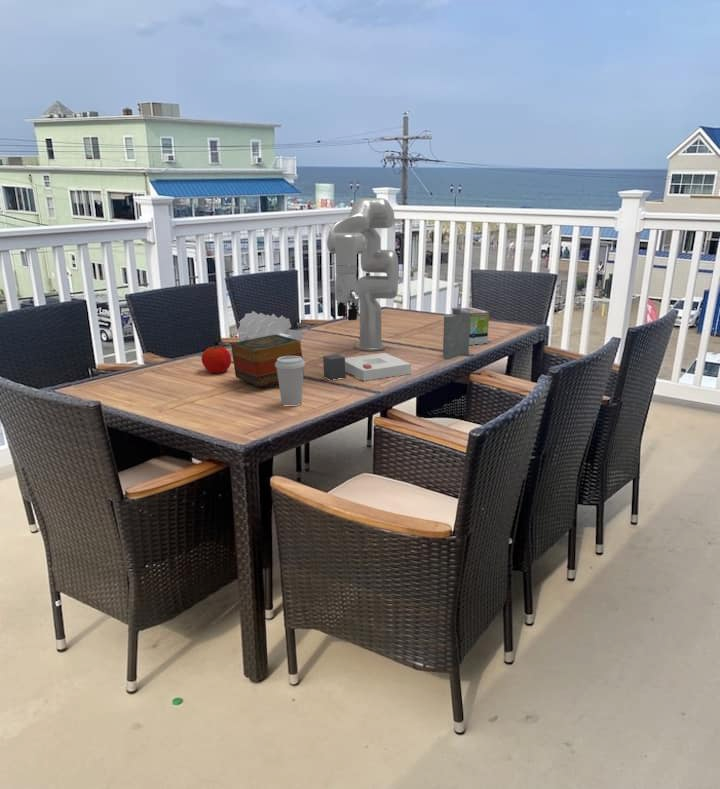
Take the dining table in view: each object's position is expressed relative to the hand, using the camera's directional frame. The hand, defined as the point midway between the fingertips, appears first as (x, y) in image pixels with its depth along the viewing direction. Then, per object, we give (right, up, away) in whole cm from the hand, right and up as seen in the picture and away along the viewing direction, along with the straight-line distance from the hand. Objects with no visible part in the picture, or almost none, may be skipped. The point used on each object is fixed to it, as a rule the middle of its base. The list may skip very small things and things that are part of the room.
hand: (347, 318), depth 221 cm
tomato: (-50, -19, +14) cm, 56 cm away
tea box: (+55, -4, +60) cm, 81 cm away
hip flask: (+45, -11, +35) cm, 58 cm away
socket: (+10, -19, +12) cm, 25 cm away
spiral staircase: (-34, -11, +40) cm, 53 cm away
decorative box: (-28, -23, 0) cm, 37 cm away
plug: (-5, -22, +4) cm, 23 cm away
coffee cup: (-17, -31, -24) cm, 43 cm away
